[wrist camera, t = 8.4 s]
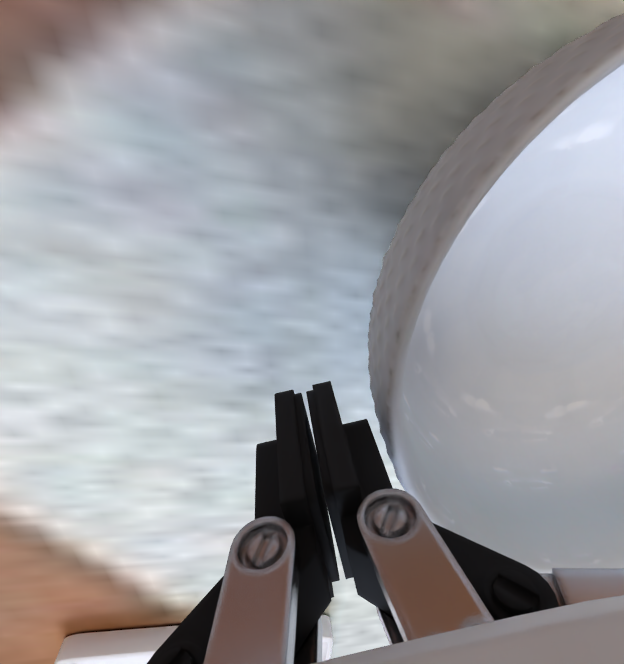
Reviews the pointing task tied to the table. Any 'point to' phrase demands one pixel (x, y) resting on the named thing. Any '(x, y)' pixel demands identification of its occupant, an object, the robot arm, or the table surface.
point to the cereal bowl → (516, 320)
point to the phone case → (137, 645)
